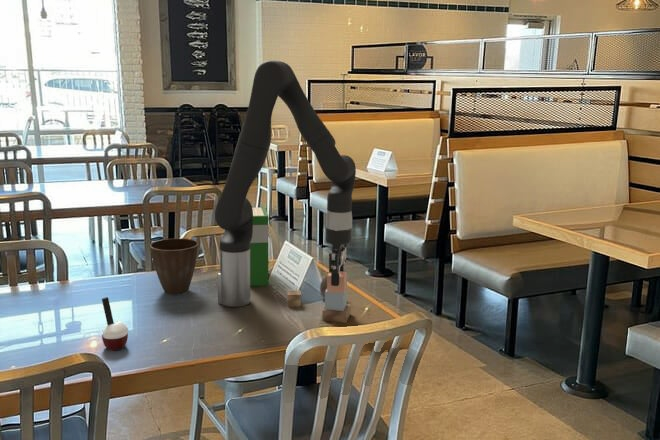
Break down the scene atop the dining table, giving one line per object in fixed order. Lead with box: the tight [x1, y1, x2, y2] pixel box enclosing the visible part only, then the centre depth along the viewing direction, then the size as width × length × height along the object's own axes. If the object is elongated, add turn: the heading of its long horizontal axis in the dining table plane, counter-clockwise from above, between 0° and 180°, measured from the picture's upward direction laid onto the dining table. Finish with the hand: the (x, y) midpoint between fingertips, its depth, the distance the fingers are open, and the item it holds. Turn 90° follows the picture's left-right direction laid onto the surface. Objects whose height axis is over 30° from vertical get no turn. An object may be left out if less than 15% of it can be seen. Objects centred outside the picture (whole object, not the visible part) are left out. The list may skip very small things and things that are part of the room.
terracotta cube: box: [326, 270, 348, 293], centre depth 182 cm, size 5×5×5 cm
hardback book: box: [250, 204, 269, 287], centre depth 216 cm, size 18×7×24 cm, turn 11°
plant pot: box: [149, 238, 199, 296], centre depth 201 cm, size 15×15×16 cm
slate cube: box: [324, 288, 348, 311], centre depth 183 cm, size 6×6×6 cm
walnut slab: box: [322, 303, 351, 324], centre depth 184 cm, size 7×7×4 cm
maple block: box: [286, 289, 302, 308], centre depth 193 cm, size 4×4×4 cm
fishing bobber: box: [101, 297, 129, 351], centre depth 160 cm, size 10×6×12 cm, turn 22°
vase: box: [319, 271, 329, 300], centre depth 198 cm, size 7×7×9 cm
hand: (337, 281), depth 182 cm, fingers open, 6 cm apart
